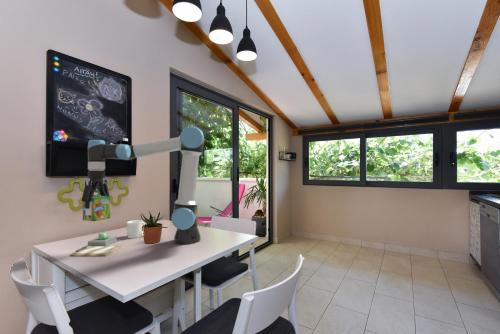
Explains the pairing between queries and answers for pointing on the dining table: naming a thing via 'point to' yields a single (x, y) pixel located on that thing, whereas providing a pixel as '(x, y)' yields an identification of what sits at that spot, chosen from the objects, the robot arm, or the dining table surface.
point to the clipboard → (95, 251)
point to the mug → (135, 229)
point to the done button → (102, 236)
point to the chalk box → (98, 208)
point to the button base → (102, 241)
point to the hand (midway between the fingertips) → (96, 213)
